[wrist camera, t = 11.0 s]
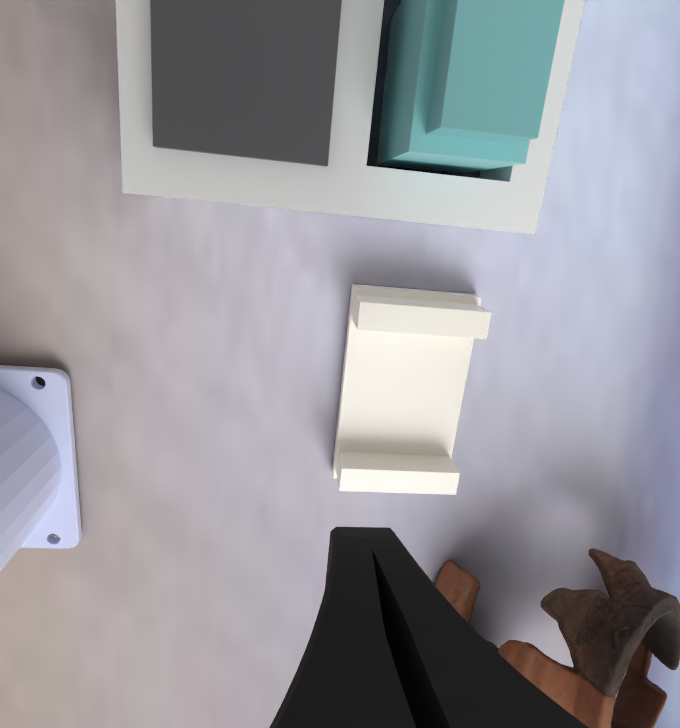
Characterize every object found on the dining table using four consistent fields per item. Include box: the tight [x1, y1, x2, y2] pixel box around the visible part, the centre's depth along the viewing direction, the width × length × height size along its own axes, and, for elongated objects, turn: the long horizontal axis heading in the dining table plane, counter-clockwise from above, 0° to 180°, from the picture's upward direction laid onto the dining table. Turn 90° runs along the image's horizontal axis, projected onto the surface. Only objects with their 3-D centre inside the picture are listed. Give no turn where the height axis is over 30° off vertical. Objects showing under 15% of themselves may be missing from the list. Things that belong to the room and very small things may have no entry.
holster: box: [332, 284, 492, 495], centre depth 20 cm, size 5×8×2 cm, turn 174°
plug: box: [377, 0, 565, 173], centre depth 14 cm, size 3×4×6 cm
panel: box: [115, 0, 585, 234], centre depth 15 cm, size 13×9×3 cm
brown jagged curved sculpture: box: [435, 549, 680, 728], centre depth 23 cm, size 12×9×8 cm
